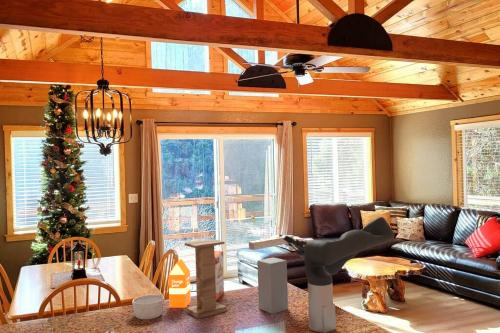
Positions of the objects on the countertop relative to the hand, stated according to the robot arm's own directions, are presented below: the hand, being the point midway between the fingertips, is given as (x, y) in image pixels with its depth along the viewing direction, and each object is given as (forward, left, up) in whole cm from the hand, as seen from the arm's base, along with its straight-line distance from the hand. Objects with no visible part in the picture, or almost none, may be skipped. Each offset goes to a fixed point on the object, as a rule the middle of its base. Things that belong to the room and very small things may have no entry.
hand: (282, 237), depth 192 cm
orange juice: (+33, +34, -31) cm, 57 cm away
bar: (0, +6, -3) cm, 7 cm away
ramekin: (+29, +51, -31) cm, 66 cm away
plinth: (0, +6, -30) cm, 31 cm away
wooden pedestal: (+16, +30, -30) cm, 46 cm away
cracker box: (+32, +16, -31) cm, 47 cm away
